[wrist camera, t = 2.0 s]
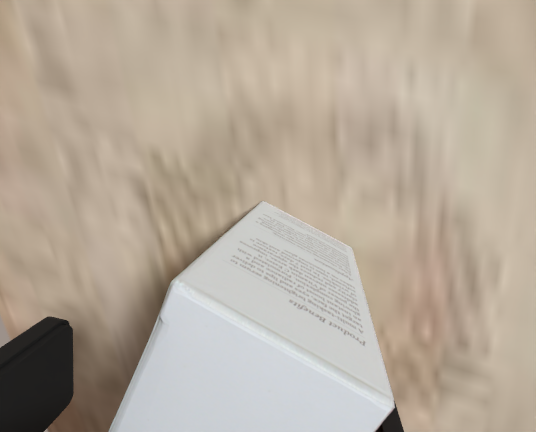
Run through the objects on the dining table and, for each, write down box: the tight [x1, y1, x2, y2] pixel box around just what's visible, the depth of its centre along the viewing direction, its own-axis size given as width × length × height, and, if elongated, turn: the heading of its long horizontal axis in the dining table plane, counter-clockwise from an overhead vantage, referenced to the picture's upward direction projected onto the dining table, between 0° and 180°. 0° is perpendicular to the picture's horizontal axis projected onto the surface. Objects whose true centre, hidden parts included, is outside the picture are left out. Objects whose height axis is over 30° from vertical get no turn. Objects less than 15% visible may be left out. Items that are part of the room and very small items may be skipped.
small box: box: [108, 201, 395, 432], centre depth 13 cm, size 8×6×10 cm
